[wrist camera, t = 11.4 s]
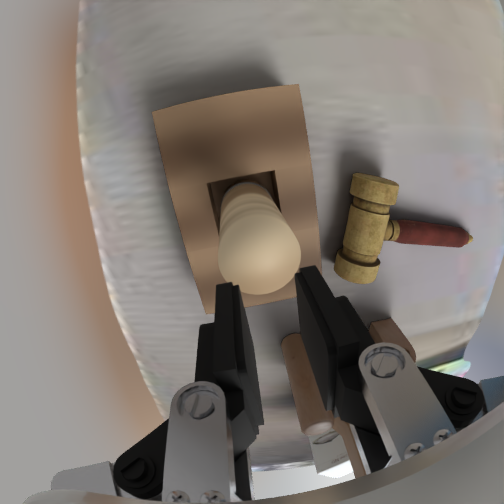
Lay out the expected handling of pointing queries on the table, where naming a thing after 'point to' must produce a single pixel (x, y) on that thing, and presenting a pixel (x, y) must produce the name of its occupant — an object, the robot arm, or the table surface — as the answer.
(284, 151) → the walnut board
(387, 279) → the table surface
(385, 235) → the gavel
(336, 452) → the supplement box
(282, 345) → the wooden toy
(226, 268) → the wooden pepper mill
